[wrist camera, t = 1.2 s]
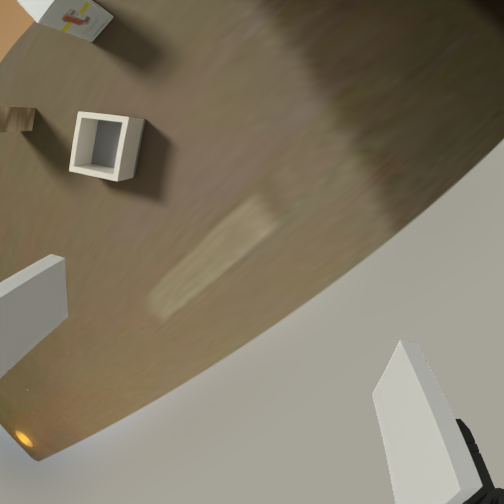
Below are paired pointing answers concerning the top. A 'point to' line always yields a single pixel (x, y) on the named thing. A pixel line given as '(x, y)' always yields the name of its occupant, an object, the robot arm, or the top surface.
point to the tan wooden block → (16, 119)
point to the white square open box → (106, 145)
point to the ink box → (69, 16)
